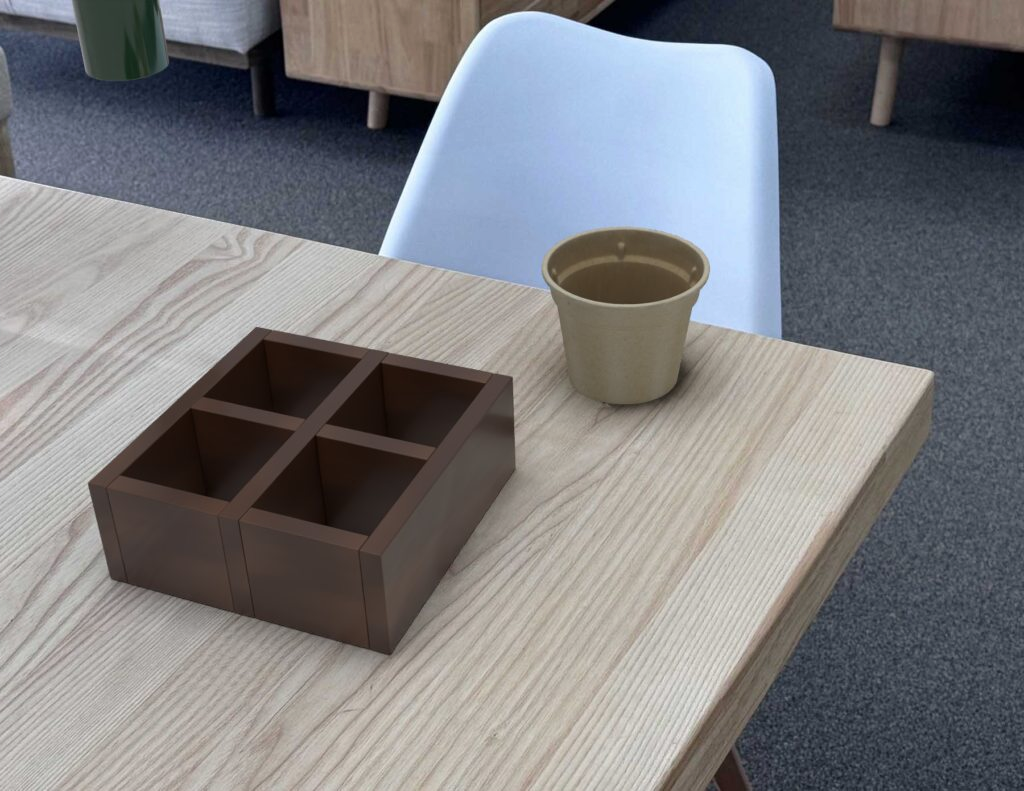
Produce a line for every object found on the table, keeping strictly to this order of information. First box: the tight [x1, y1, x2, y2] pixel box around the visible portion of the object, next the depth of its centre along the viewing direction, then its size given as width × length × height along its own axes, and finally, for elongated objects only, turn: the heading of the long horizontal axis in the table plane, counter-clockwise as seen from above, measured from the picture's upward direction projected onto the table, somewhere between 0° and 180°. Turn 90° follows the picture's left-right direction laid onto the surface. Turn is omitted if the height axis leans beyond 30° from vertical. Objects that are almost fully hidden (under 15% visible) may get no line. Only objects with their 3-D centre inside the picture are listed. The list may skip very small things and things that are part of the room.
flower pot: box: [541, 226, 711, 405], centre depth 81 cm, size 9×9×9 cm
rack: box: [87, 326, 517, 655], centre depth 72 cm, size 16×16×6 cm
